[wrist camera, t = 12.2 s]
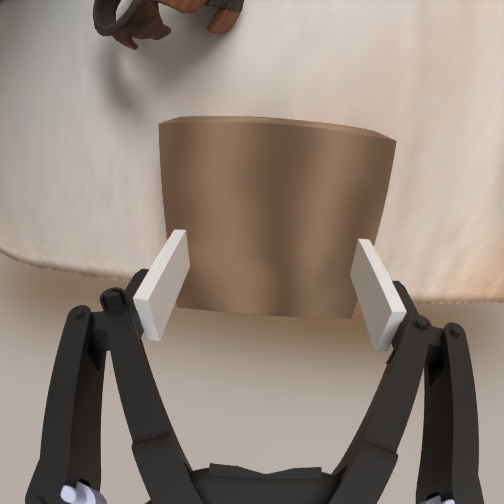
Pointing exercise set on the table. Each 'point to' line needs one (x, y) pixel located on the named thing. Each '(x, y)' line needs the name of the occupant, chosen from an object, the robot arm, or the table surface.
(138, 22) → the broken clay pottery vessel
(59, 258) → the table surface
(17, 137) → the table surface
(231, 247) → the brown wooden square block
